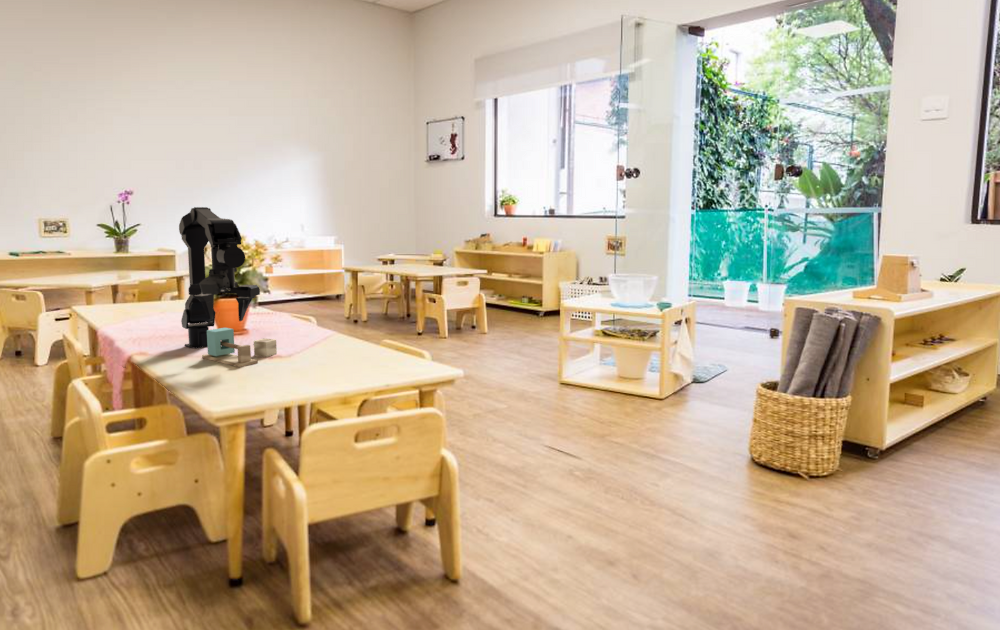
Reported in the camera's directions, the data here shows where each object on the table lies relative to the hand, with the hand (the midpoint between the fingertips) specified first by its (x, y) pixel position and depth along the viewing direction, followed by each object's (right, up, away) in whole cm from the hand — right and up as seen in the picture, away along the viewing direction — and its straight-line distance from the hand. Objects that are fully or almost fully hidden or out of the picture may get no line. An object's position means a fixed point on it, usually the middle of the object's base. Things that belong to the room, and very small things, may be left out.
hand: (225, 320), depth 196 cm
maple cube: (+7, -11, +12) cm, 17 cm away
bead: (-4, -10, +6) cm, 12 cm away
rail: (0, -12, +4) cm, 12 cm away
